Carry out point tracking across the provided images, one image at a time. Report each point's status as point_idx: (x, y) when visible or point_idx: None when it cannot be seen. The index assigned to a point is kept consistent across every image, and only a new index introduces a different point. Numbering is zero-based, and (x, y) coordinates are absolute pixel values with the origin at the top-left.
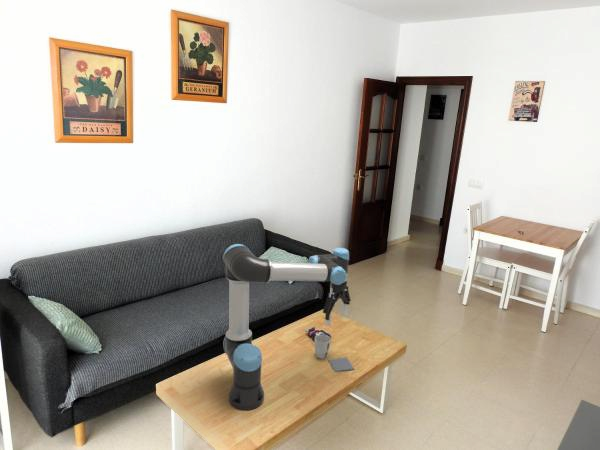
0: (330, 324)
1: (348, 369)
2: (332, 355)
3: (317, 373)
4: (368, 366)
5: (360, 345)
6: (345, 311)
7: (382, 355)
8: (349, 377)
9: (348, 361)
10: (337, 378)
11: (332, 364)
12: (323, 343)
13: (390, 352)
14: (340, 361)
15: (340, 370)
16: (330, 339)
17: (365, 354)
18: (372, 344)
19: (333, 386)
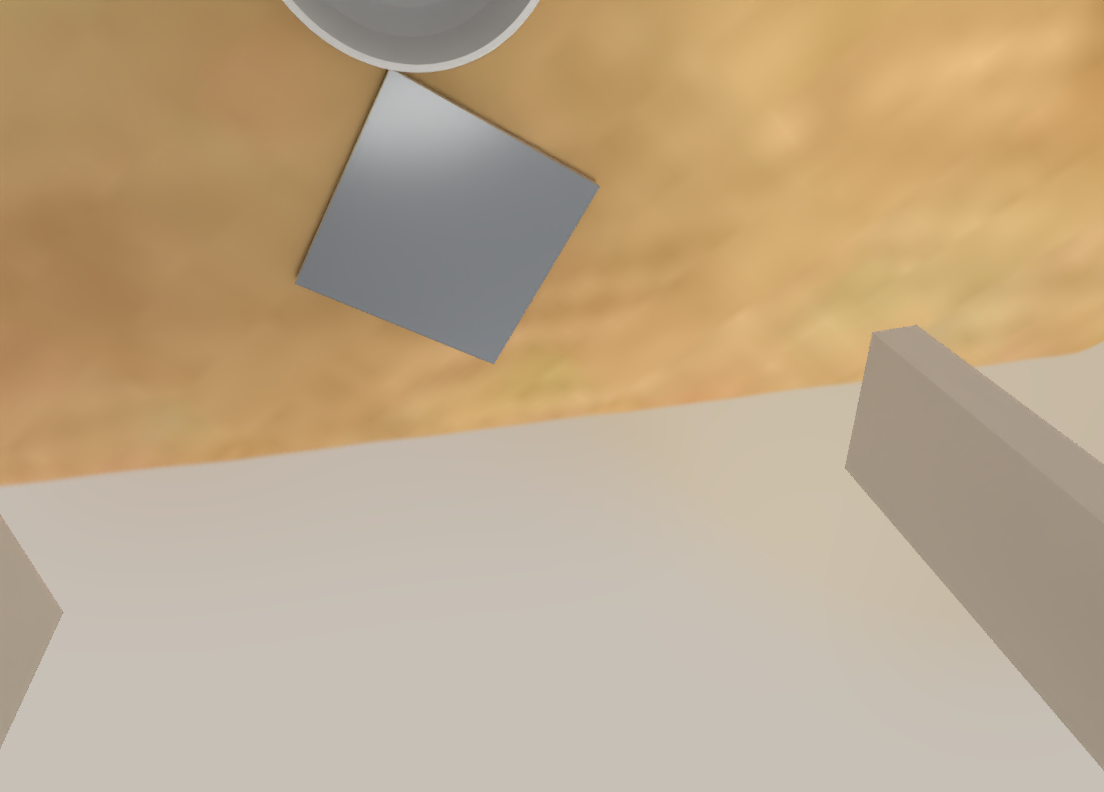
0: (23, 667)
1: (437, 339)
2: None
3: (84, 168)
4: (637, 388)
5: (932, 97)
6: (958, 580)
7: None
8: (362, 405)
9: (549, 250)
10: (245, 357)
11: (356, 179)
12: (313, 26)
13: None
14: (480, 196)
15: (353, 306)
16: (505, 37)
17: (798, 248)
18: (1013, 171)
19: (119, 417)
